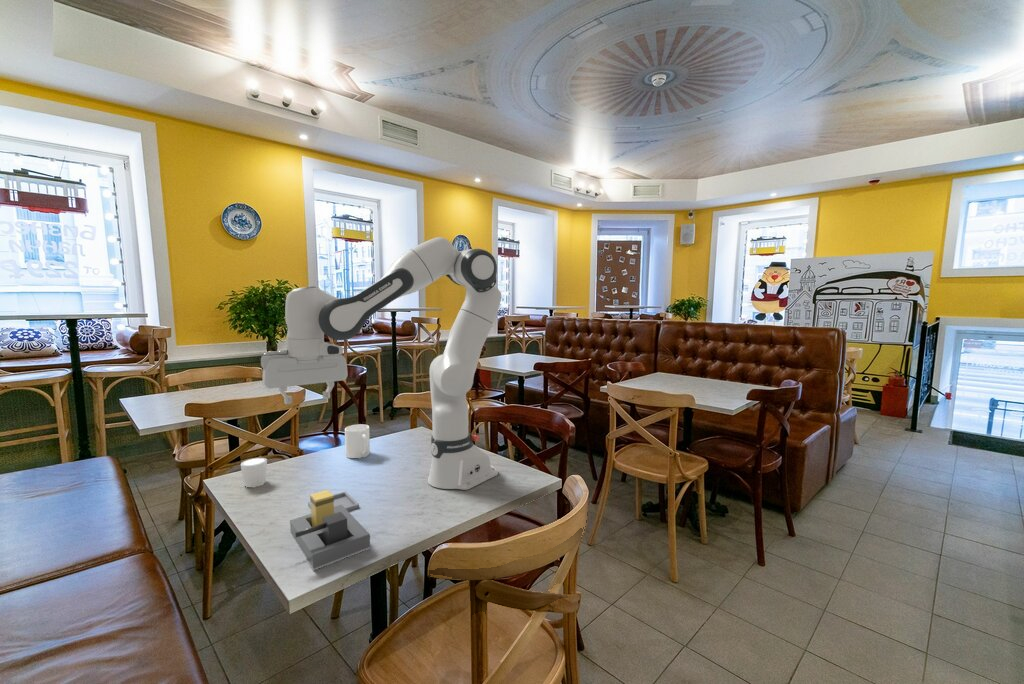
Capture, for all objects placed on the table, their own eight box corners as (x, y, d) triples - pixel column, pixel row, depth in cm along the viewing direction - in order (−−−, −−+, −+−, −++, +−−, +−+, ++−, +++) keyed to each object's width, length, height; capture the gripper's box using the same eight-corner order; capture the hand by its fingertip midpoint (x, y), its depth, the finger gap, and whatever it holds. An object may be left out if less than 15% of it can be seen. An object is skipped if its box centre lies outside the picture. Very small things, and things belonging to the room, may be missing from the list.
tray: (345, 496, 119) (345, 491, 119) (359, 509, 112) (358, 504, 112) (308, 507, 113) (307, 502, 113) (319, 521, 105) (319, 516, 105)
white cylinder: (255, 489, 123) (254, 466, 122) (236, 487, 124) (234, 464, 124) (273, 480, 130) (272, 458, 129) (254, 478, 131) (253, 456, 130)
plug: (329, 524, 103) (328, 489, 102) (334, 531, 100) (333, 495, 99) (311, 530, 100) (310, 494, 99) (316, 537, 97) (315, 500, 96)
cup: (363, 449, 157) (363, 422, 156) (378, 457, 149) (378, 430, 148) (341, 454, 152) (340, 427, 151) (356, 464, 143) (355, 435, 142)
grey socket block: (341, 517, 107) (341, 489, 107) (370, 548, 94) (369, 516, 93) (281, 537, 98) (279, 506, 98) (302, 575, 85) (301, 539, 84)
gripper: (263, 353, 100) (265, 409, 102) (349, 347, 114) (350, 397, 115) (257, 350, 105) (260, 404, 106) (340, 345, 118) (342, 393, 120)
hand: (307, 400), depth 111 cm, fingers open, 8 cm apart
